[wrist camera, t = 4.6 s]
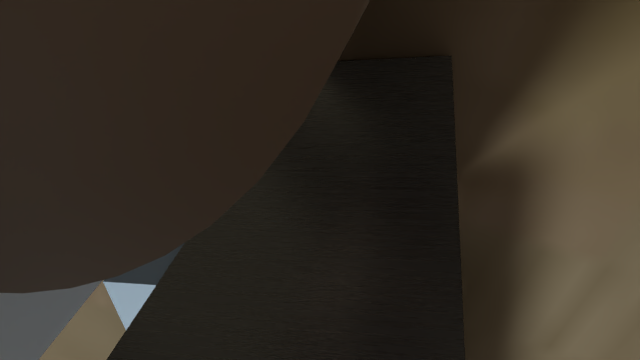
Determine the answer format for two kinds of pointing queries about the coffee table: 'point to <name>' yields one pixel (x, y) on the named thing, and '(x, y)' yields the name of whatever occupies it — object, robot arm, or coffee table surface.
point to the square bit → (330, 237)
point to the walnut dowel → (145, 122)
